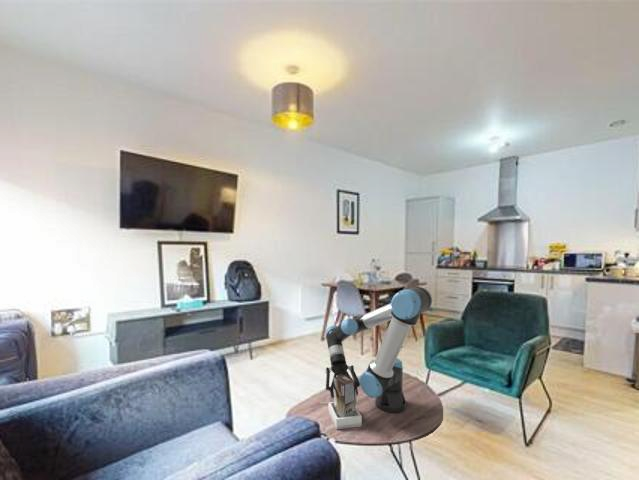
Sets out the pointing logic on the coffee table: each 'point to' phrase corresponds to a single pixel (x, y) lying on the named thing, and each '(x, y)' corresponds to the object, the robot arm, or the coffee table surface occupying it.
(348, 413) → the coffee box
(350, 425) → the box
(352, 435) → the coffee table surface
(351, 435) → the coffee table surface
